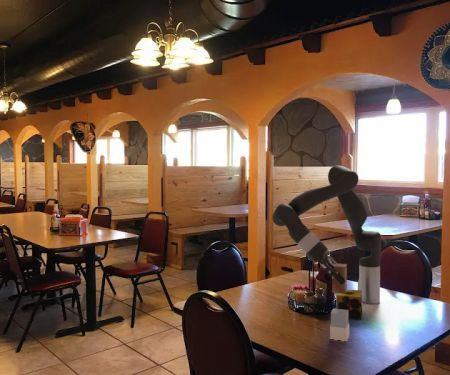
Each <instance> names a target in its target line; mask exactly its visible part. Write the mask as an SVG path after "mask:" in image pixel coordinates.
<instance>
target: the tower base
mask: <svg viewBox="0 0 450 375" xmlns="http://www.w3.org/2000/svg"><path fill="white" fill-rule="evenodd" d="M329 331H330V332H329V340H330V339H334V340H333V341H337V340H341V341H340V342H344V341H347V342H348V340H349V338H350V322H348V325H347V328H340V327H333V326H331V325H330V326H329Z"/></svg>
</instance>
